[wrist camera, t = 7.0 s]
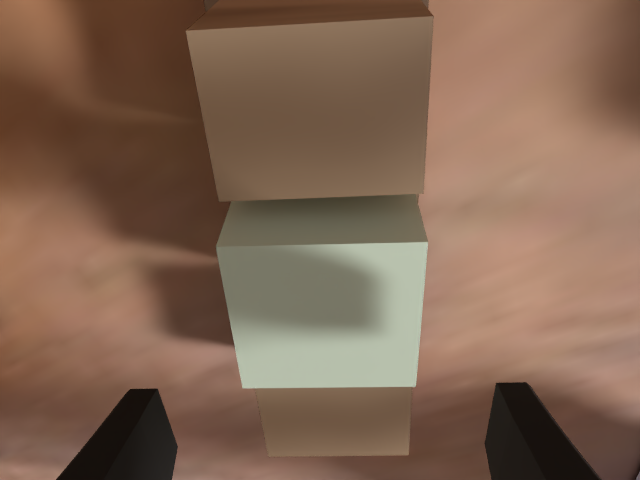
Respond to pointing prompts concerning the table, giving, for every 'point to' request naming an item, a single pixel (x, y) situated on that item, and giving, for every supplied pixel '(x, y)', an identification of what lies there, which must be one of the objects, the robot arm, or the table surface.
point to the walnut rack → (318, 156)
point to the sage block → (325, 290)
